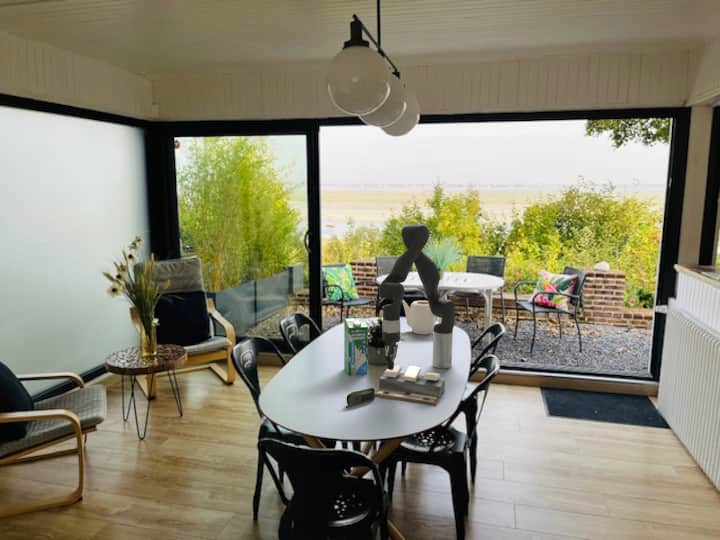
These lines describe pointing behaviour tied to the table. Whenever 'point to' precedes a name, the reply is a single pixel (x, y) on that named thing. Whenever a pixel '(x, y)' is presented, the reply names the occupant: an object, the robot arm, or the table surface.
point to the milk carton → (355, 346)
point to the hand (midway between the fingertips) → (390, 369)
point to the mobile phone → (360, 396)
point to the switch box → (411, 389)
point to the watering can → (420, 317)
